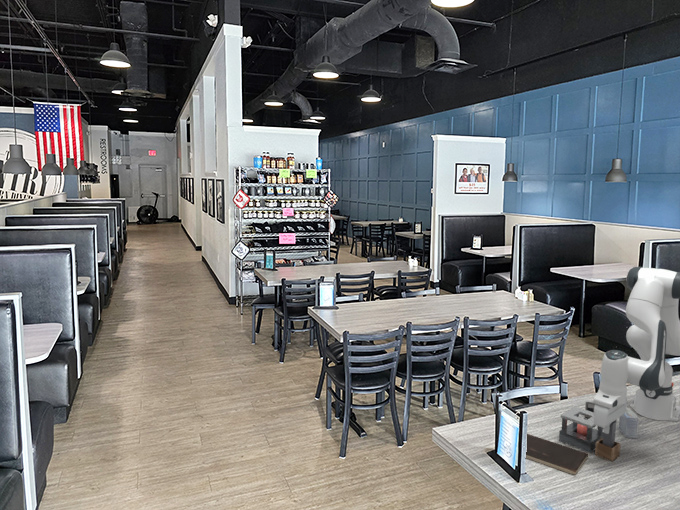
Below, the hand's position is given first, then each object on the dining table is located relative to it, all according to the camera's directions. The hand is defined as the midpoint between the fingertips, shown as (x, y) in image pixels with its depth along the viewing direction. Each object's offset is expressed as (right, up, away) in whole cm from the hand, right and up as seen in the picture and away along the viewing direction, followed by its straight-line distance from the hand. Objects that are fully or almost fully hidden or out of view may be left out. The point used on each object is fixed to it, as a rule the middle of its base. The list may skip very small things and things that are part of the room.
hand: (609, 431), depth 186 cm
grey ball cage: (-5, -8, +12) cm, 15 cm away
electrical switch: (+9, -6, +27) cm, 30 cm away
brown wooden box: (0, -10, +1) cm, 10 cm away
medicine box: (+17, -8, +18) cm, 26 cm away
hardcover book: (-21, -10, +2) cm, 24 cm away
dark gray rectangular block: (0, -6, +1) cm, 6 cm away
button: (-5, -7, +11) cm, 14 cm away
